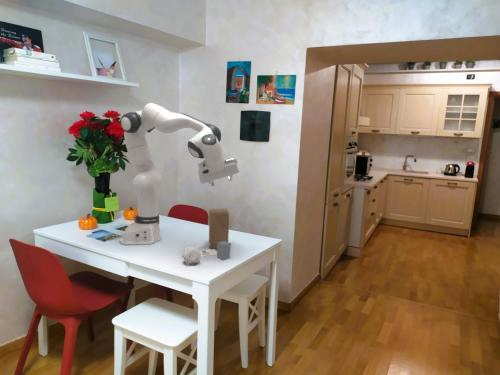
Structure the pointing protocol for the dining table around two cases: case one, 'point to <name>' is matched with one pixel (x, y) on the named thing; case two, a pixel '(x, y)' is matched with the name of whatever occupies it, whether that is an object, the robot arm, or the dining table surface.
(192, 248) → the die
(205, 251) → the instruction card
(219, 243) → the brick
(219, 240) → the block
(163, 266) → the dining table surface
